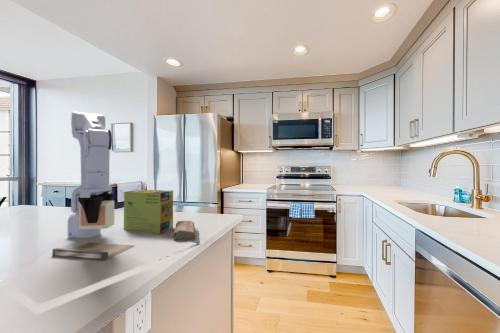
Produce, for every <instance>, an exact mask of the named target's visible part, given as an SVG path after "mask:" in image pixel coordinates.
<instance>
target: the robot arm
mask: <svg viewBox="0 0 500 333" xmlns="http://www.w3.org/2000/svg"><path fill="white" fill-rule="evenodd" d="M70 118H71V122H70V123H71V134H72V138H74V139H76V140H77V141H78V143H79V147H80V185H78V186H77V187H74V189H73V190H72V192H71V197H70V199H71V201H70V206H71V207H70V209H71V213H72V214H71V215H70V216H69V217H68V219H67V239H72V238H77V239H87V238H89V239H90V238H94V237H95V238H96V237H99V236H100V235H101V233H102V232H101V231H102V229H79V203H80V204H81V205H82V207H83V209H84V212H85V215H86V219H87V222H88V223H97V221H98V216H99V209H100V205H101V203H102V201H113V199H114V198H115V193H114V192H113V190H112V189H113V188H112V186H113V185H110V159H111V158H110V156H111V154H110V151H111V150H112V147H113V134H112V131H111V129H106V116H105V115H104V114H96V113H88V112H87V113H86V112H80V111H79V112H78V111H75V110H74V111H72V112H71V117H70Z"/></svg>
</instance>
